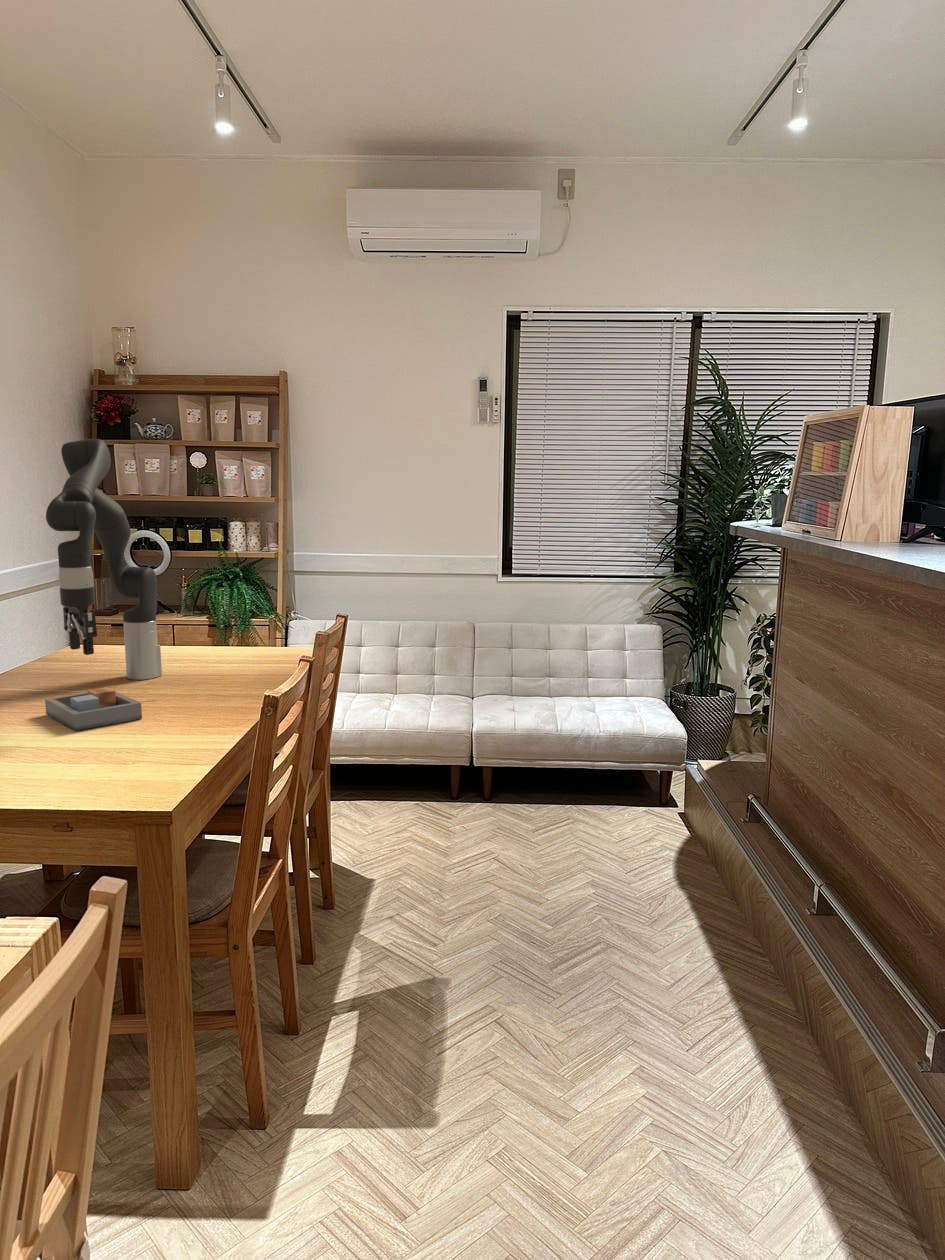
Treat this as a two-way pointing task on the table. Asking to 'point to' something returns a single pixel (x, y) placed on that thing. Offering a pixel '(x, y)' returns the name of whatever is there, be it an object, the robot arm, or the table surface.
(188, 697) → the table surface
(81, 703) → the grey block
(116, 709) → the charcoal tray
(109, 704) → the terracotta block
